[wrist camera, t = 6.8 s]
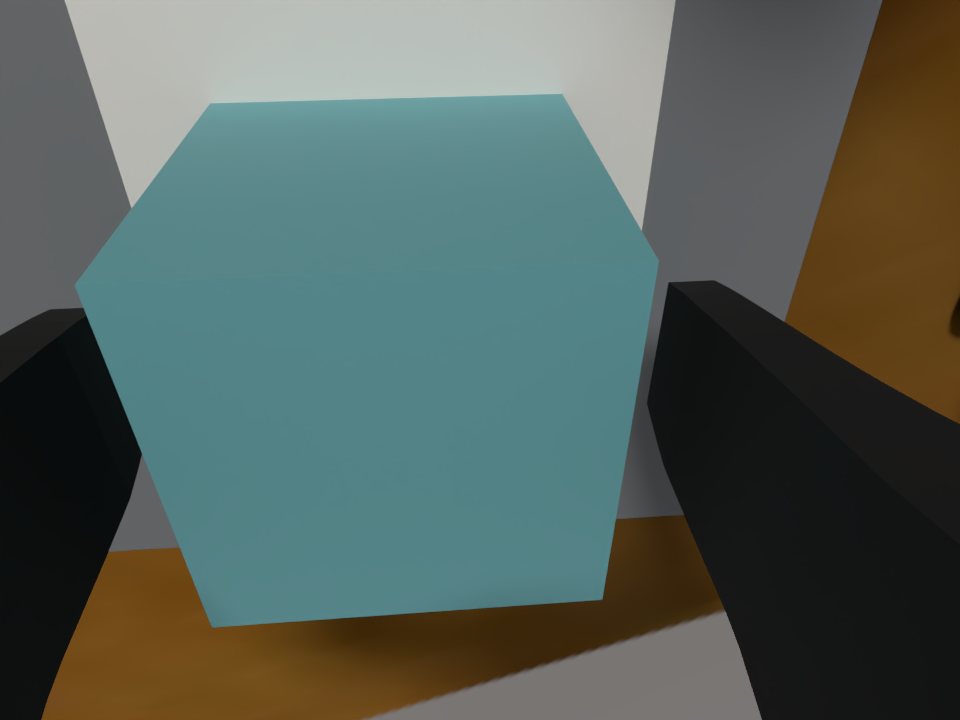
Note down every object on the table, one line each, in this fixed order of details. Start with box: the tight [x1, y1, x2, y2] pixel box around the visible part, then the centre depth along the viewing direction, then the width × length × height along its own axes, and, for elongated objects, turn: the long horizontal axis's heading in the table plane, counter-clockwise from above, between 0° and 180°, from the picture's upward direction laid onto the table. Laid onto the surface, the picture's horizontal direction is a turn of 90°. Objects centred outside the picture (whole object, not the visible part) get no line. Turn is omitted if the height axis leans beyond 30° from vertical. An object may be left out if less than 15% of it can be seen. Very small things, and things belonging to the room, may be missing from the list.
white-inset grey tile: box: [0, 0, 882, 552], centre depth 13 cm, size 14×14×3 cm
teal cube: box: [75, 94, 659, 627], centre depth 10 cm, size 5×5×5 cm
